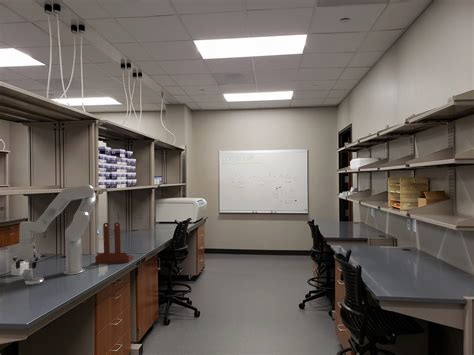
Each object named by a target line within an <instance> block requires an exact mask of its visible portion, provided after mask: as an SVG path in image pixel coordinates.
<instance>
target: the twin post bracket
mask: <svg viewBox="0 0 474 355" xmlns="http://www.w3.org/2000/svg"><path fill="white" fill-rule="evenodd" d="M113 227H114V230H113V231H114V235H113V237H114V252H110V251H111V249H110V224H109V223H108V222H104V223H103V225H102V230H103V231H102V234H103V236H102V237H103V253H102V252H101V253H97V254H96V255H95V256H94V258H95V259H94V261H95V264H96V265H97V264H98V265H99V264H124V263H127V264H128V263H130V262H131V261H132V260H134V259H135V258H134V255H131V254H128V253H127V252H122V250H121V249H122V248H121V247H122V246H121V244H122V243H121V224H120V222H118V221H116V222H115V223H114V224H113Z"/></svg>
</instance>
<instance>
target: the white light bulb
mask: <svg viewBox="0 0 474 355" xmlns="http://www.w3.org/2000/svg"><path fill="white" fill-rule="evenodd" d="M33 273H34V272H33V269H32V268H29V269H25V270H24V272H23V273H22V275H21V276H22V277H23V280H24V281H26V280H28V279H32V278H34V276H33Z"/></svg>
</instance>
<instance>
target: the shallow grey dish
mask: <svg viewBox="0 0 474 355" xmlns="http://www.w3.org/2000/svg"><path fill="white" fill-rule="evenodd" d="M44 282H45V278H44V277H40V276H39V277H33V278H32V279H28V280H24V285H25V286H33V285H39V284H41V283H44Z"/></svg>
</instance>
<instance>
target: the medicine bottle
mask: <svg viewBox="0 0 474 355" xmlns="http://www.w3.org/2000/svg"><path fill="white" fill-rule="evenodd" d="M15 257H16V258H17V255H16V256H15ZM13 261H14V260H13ZM29 267H30V266H29V261H27V262H26V259H25V260H20V268H18V269H16V263H15V261H14V263H11V264H10V270H11V271H10V272H11V276H22V273H23V272H24V270H25V269H30V268H29Z"/></svg>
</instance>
